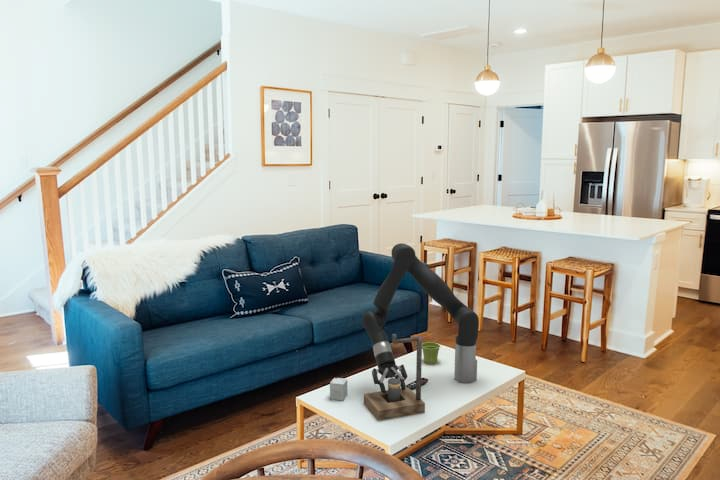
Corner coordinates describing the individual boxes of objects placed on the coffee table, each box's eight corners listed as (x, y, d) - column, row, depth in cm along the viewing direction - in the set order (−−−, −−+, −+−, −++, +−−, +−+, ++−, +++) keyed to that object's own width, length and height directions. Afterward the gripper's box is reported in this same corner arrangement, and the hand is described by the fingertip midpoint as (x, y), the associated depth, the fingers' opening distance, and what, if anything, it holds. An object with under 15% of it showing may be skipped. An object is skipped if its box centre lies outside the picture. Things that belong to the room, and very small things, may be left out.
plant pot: (435, 367, 266) (435, 350, 265) (417, 363, 271) (417, 346, 270) (443, 361, 274) (443, 344, 272) (426, 357, 279) (426, 340, 277)
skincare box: (343, 401, 229) (343, 384, 228) (329, 399, 231) (329, 382, 230) (347, 395, 235) (347, 378, 234) (334, 393, 237) (334, 377, 236)
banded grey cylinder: (397, 402, 228) (397, 377, 226) (402, 407, 223) (402, 382, 222) (385, 404, 226) (385, 379, 225) (390, 409, 222) (390, 384, 220)
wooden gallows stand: (407, 395, 234) (408, 322, 229) (424, 412, 220) (426, 334, 214) (363, 403, 227) (364, 327, 222) (378, 420, 213) (379, 340, 208)
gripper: (370, 352, 226) (380, 390, 217) (401, 348, 230) (413, 385, 222) (365, 360, 231) (375, 397, 222) (396, 356, 236) (407, 392, 227)
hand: (394, 391), depth 222 cm, fingers open, 8 cm apart
